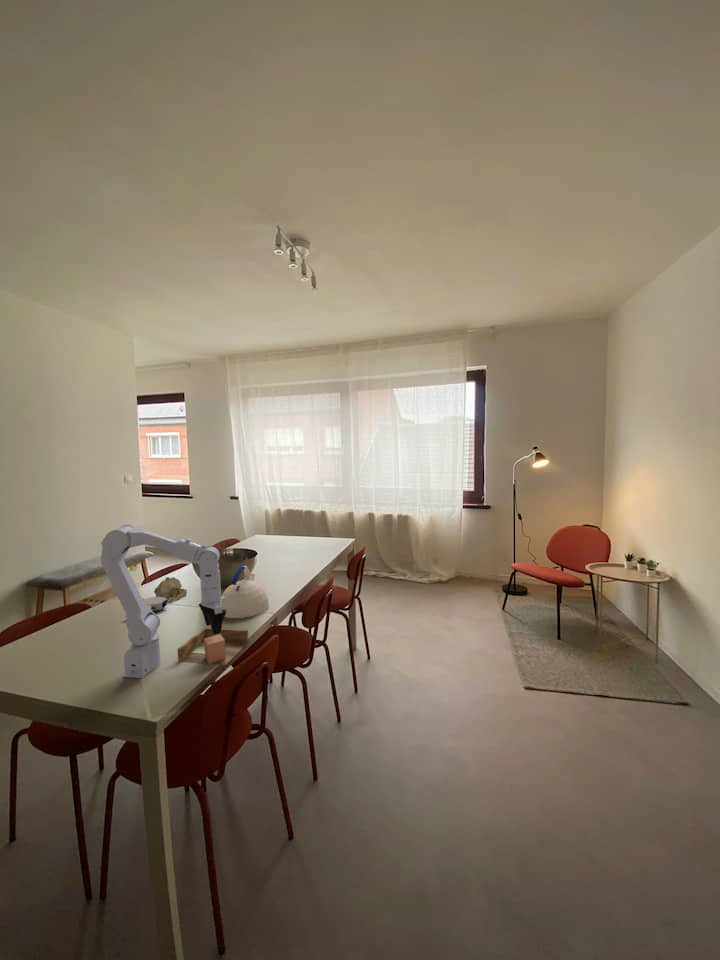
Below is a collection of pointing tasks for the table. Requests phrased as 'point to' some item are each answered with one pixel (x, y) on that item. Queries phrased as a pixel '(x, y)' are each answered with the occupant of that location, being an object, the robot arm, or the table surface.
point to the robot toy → (155, 603)
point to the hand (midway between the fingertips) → (213, 628)
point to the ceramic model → (170, 589)
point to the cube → (214, 648)
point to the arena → (196, 650)
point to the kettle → (244, 596)
